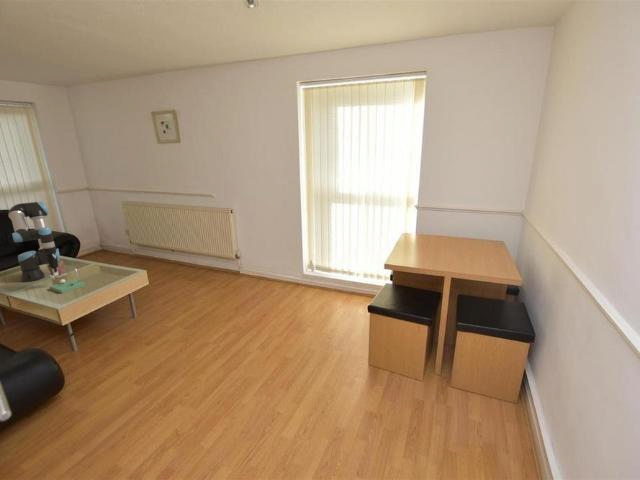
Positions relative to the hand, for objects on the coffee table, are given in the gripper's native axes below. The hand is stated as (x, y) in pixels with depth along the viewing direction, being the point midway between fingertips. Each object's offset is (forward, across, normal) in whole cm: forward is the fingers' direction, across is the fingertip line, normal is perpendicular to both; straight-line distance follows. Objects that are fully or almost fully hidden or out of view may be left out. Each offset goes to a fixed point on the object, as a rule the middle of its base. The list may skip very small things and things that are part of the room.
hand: (56, 275), depth 250 cm
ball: (+4, +8, 0) cm, 9 cm away
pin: (+6, +19, +7) cm, 21 cm away
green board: (+8, +14, 0) cm, 16 cm away
